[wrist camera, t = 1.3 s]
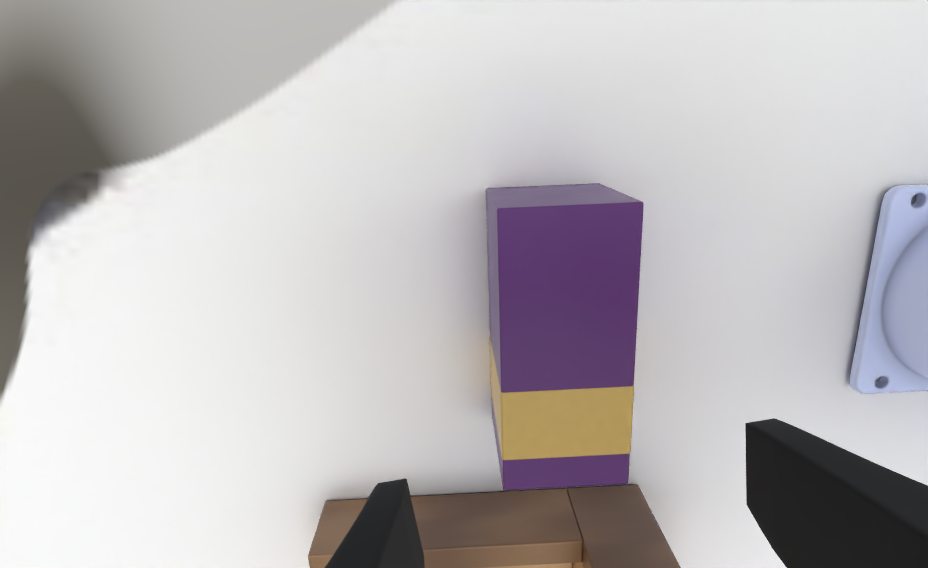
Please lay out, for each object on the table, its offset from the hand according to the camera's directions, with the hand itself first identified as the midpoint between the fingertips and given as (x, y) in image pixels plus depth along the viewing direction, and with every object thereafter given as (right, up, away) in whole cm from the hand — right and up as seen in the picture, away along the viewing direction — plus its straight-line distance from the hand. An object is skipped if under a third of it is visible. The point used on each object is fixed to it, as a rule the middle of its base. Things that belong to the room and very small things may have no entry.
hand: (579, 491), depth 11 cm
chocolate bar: (0, +3, +9) cm, 10 cm away
